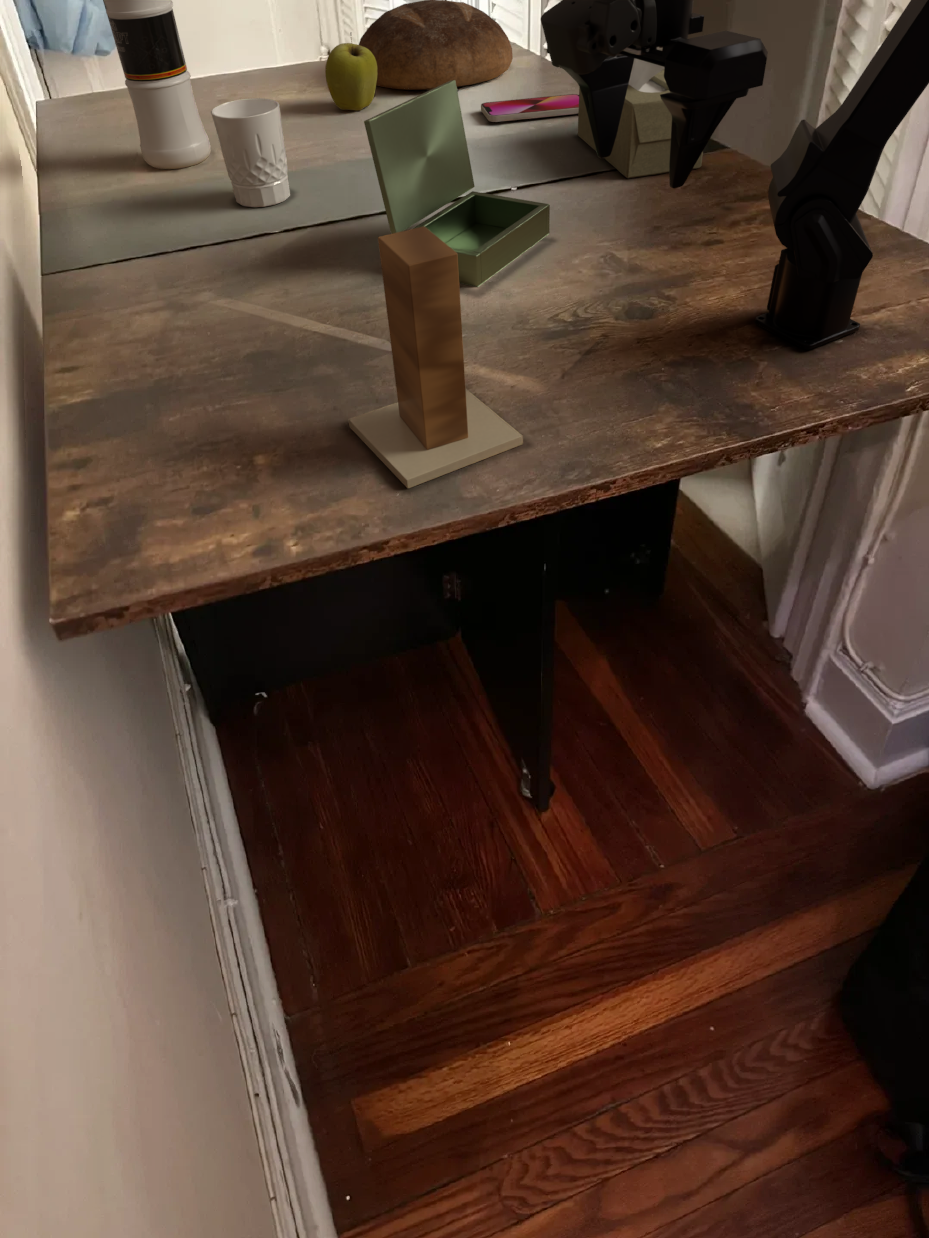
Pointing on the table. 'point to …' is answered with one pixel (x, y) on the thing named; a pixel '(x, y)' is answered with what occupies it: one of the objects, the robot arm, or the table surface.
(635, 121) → the tissue box
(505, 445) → the tile
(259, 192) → the white cup
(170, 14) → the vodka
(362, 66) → the apple
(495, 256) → the green box
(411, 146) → the flat green panel
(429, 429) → the wooden block
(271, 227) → the table surface
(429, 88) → the bread
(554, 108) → the smartphone
